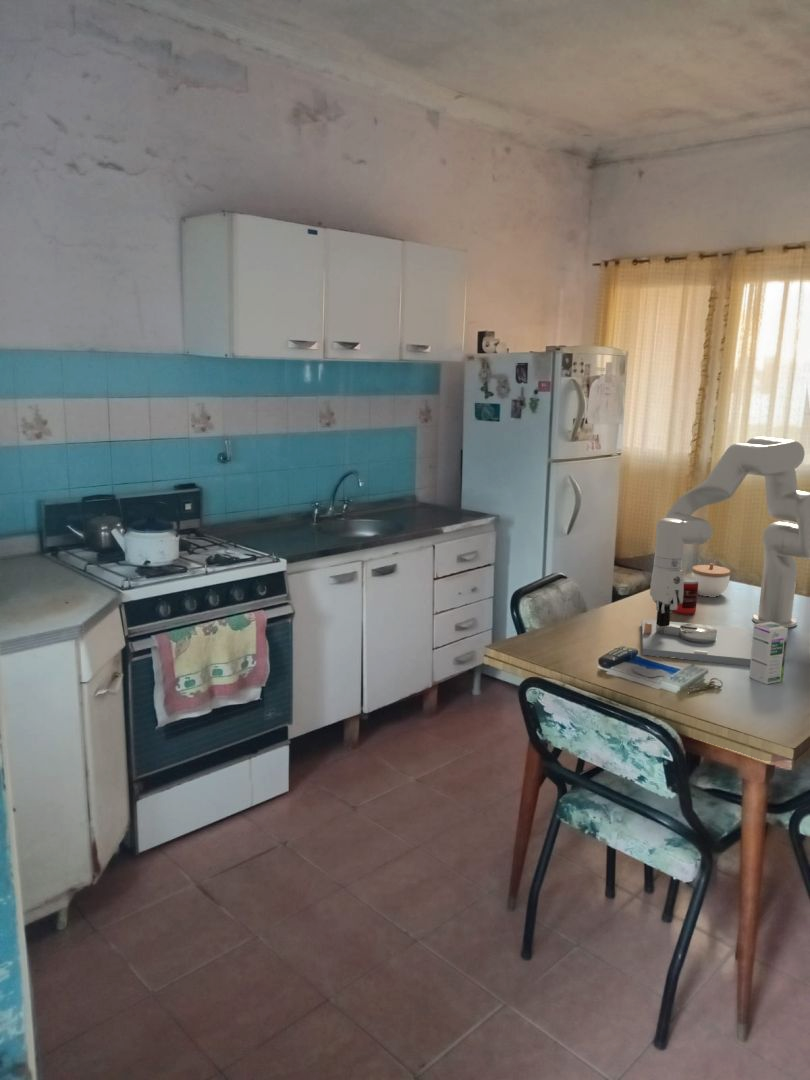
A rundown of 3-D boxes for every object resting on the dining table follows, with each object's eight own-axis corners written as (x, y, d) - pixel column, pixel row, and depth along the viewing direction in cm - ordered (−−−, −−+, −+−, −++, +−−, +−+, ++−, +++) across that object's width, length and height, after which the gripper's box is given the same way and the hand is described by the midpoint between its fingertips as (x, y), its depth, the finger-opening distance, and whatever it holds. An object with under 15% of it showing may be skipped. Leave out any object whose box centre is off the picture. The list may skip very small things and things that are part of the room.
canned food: (674, 606, 272) (677, 574, 269) (698, 611, 267) (701, 578, 265) (666, 612, 266) (669, 579, 263) (691, 616, 261) (694, 583, 259)
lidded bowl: (684, 594, 287) (686, 563, 284) (697, 587, 296) (700, 557, 294) (720, 601, 279) (723, 569, 276) (733, 594, 288) (736, 563, 286)
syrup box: (766, 685, 205) (772, 629, 202) (747, 677, 211) (753, 622, 208) (783, 681, 208) (789, 627, 205) (764, 673, 213) (770, 620, 210)
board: (641, 625, 252) (642, 609, 251) (746, 634, 244) (748, 618, 243) (642, 655, 225) (643, 638, 224) (760, 667, 218) (762, 649, 217)
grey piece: (717, 634, 237) (719, 609, 235) (714, 645, 228) (716, 619, 226) (658, 626, 243) (660, 602, 242) (653, 636, 235) (655, 611, 233)
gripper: (695, 568, 224) (689, 632, 228) (664, 556, 238) (659, 616, 242) (671, 569, 222) (666, 634, 226) (641, 557, 236) (636, 618, 240)
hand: (662, 625), depth 234 cm, fingers closed
